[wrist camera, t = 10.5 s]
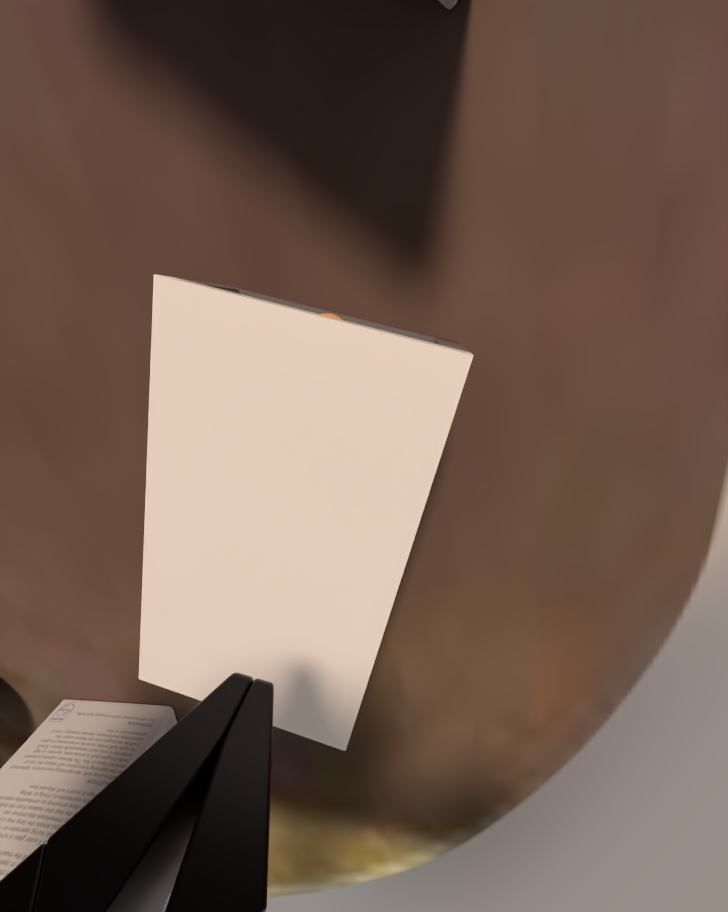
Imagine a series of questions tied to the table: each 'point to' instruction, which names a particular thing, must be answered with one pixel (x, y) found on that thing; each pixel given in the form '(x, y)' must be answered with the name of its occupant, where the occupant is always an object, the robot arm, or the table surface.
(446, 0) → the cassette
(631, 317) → the table surface
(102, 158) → the table surface
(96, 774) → the light bulb box
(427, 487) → the white rectangular panel
